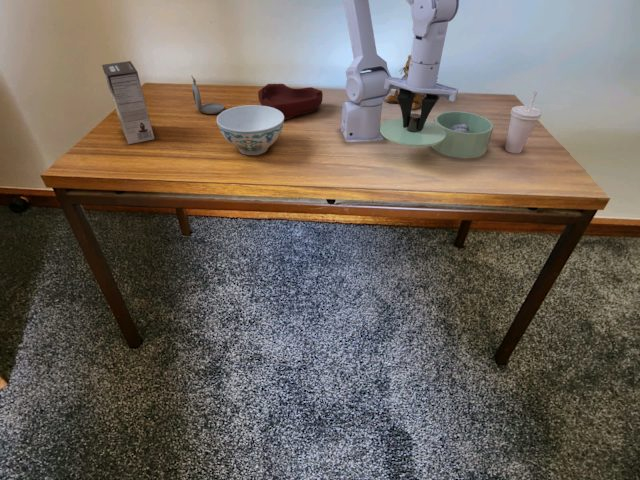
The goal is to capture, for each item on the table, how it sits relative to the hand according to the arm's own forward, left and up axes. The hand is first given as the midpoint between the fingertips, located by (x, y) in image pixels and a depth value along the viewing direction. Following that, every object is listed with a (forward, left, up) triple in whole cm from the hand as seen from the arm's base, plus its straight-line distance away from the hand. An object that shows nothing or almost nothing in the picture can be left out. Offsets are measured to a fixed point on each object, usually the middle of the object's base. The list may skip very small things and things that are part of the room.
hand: (413, 127), depth 85 cm
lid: (0, 0, -1) cm, 1 cm away
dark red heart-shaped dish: (-24, +33, -8) cm, 42 cm away
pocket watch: (-46, +36, -8) cm, 59 cm away
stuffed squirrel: (+14, +37, -8) cm, 40 cm away
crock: (+15, +6, -8) cm, 18 cm away
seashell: (+15, +6, -8) cm, 18 cm away
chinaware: (-34, +11, -8) cm, 37 cm away
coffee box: (-62, +22, -8) cm, 67 cm away
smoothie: (+28, +3, -8) cm, 29 cm away
